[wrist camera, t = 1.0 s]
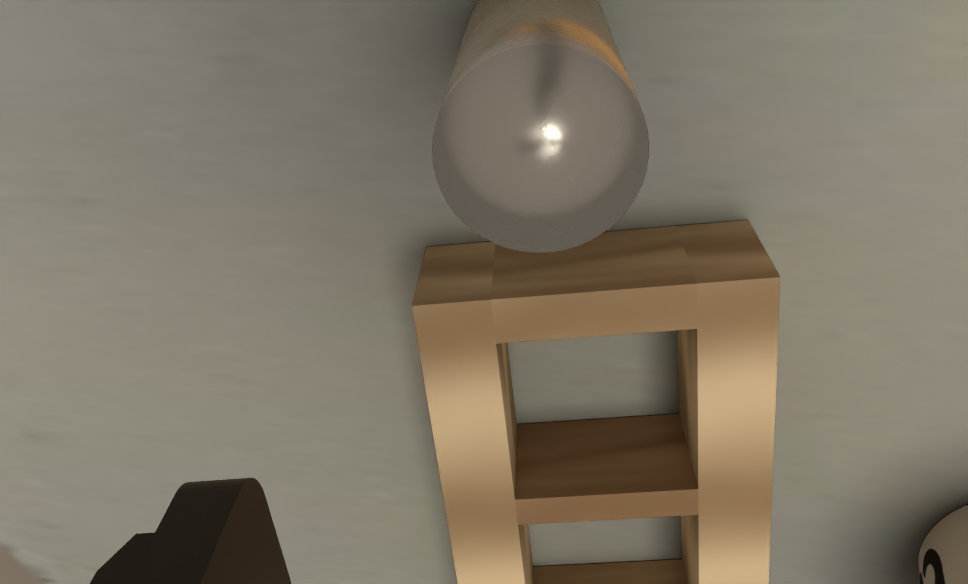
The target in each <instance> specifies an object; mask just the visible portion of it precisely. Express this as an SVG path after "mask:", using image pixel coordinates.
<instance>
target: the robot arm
mask: <svg viewBox="0 0 968 584" xmlns="http://www.w3.org/2000/svg"><path fill="white" fill-rule="evenodd" d="M90 584H291V581H290V577H289V574H288V570H287V567H286V564H285V560H284V557H283V554H282V550H281V547H280V544H279V540H278V537H277V534H276V530H275V527H274V524H273V521H272V517H271V514H270V511H269V507H268V504H267V501H266V497H265V494H264V491H263V489H262V487H261V485H260V483H259V482H258V481H257V480H256V479H254V478H242V479H228V480H214V481H200V482H188V483H185V484H183V485H182V486H181V487H180V488H179V489H178V490H177V492H176V494H175V496H174V497H173V499H172V501H171V503H170V505H169V507H168V509H167V511H166V513H165V515H164V517H163V519H162V521H161V522H160V524H159V526H158V528H157V530H156V532H155V533H143V534H136V535H134V536H133V537H132V538H131V539H130V540H129V541H128V542H127V543H126V544H125V545H124V546H123V547H122V548H121V549H120V550H119V551H118V552H117V553H116V554H114V555H113V556H112V557H111V558H110V559H109V560H108V561H107V562H106V563H105V564H104V565H103V566H102V567H101V568H100V569H99V570H98V571H97V572H96V574H95V576H94V577H93V579H92V581H91V583H90Z"/></svg>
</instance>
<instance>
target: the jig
mask: <svg viewBox="0 0 968 584" xmlns="http://www.w3.org/2000/svg"><path fill="white" fill-rule="evenodd" d="M779 302H780V275H779V274H778V272H777V270H776V268H775V266H774V265H773V263H772V261H771V259H770V258H769V256H768V254H767V252H766V250H765V249H764V247H763V245H762V243H761V242H760V240H759V238H758V236H757V234H756V233H755V231H754V229H753V227H752V226H751V224H750V222H749V220H742V221H730V222H718V223H706V224H694V225H682V226H670V227H658V228H646V229H635V230H623V231H611V232H604V233H602V234H601V235H599V236H598V237H596V238H594V239H592V240H590V241H588V242H586V243H584V244H581V245H579V246H576V247H573V248H569V249H566V250H562V251H555V252H545V253H533V252H522V251H517V250H513V249H508V248H506V247H503V246H500V245H497V244H495V243H493V242H480V243H468V244H456V245H444V246H432V247H426V251H425V255H424V259H423V263H422V267H421V271H420V275H419V279H418V283H417V287H416V291H415V295H414V299H413V303H412V310H413V316H414V322H415V328H416V334H417V340H418V346H419V352H420V358H421V364H422V370H423V376H424V383H425V389H426V395H427V401H428V407H429V413H430V419H431V425H432V431H433V437H434V443H435V449H436V455H437V461H438V467H439V473H440V479H441V485H442V491H443V497H444V503H445V509H446V515H447V521H448V527H449V534H450V540H451V546H452V552H453V558H454V564H455V570H456V576H457V582H458V584H768V581H769V556H770V530H771V505H772V480H773V454H774V429H775V403H776V378H777V353H778V327H779ZM674 330H678V382H679V414H668V415H653V416H638V417H623V418H607V419H592V420H577V421H562V422H546V423H531V424H516V415H515V407H514V398H513V389H512V381H511V372H510V363H509V354H508V346H507V343H512V342H525V341H539V340H552V339H566V338H580V337H593V336H607V335H620V334H634V333H647V332H661V331H674ZM667 516H681V552H682V559H678V560H659V561H639V562H620V563H600V564H581V565H561V566H542V567H533V564H532V555H531V546H530V537H529V529H528V524H541V523H559V522H577V521H595V520H613V519H631V518H649V517H667Z"/></svg>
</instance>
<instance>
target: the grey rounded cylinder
mask: <svg viewBox="0 0 968 584" xmlns="http://www.w3.org/2000/svg"><path fill="white" fill-rule="evenodd" d="M432 153H433V165H434V170H435V174H436V178H437V181H438V184H439V187H440V190H441V192H442V194H443V196H444V197H445V199H446V201H447V203H448V204H449V206H450V207H451V209H452V210H453V212H454V213H455V214H456V215H457V216H458V217H459V218H460V220H461V221H462V222H463V223H464V224H466V225H467V226H468V227H469V228H470V229H471V230H473V231H474V232H475V233H477V234H478V235H480V236H482V237H483V238H485V239H487V240H489V241H491V242H493V243H495V244H497V245H500V246H503V247H506V248H508V249H513V250H517V251H522V252H533V253H545V252H555V251H562V250H566V249H569V248H573V247H576V246H579V245H581V244H584V243H586V242H588V241H590V240H592V239H594V238H596V237H598V236H599V235H601V234H602V233H604V232H605V231H606V230H608V229H609V228H610V227H612V226H613V225H614V224H615V223H616V222H617V221H618V220H619V219H620V218H621V217H622V216H623V215H624V213H625V212H626V211H627V210H628V209H629V207H630V206H631V204H632V202H633V201H634V199H635V198H636V196H637V194H638V192H639V190H640V188H641V185H642V183H643V180H644V177H645V173H646V169H647V164H648V158H649V139H648V130H647V126H646V122H645V118H644V115H643V113H642V110H641V107H640V105H639V102H638V100H637V97H636V95H635V92H634V90H633V87H632V85H631V82H630V80H629V77H628V75H627V72H626V70H625V67H624V65H623V62H622V60H621V57H620V55H619V52H618V50H617V47H616V45H615V42H614V40H613V37H612V35H611V32H610V30H609V27H608V25H607V22H606V20H605V17H604V15H603V12H602V10H601V7H600V6H599V4H598V2H597V0H478V2H477V3H476V5H475V7H474V9H473V11H472V13H471V16H470V19H469V22H468V25H467V28H466V31H465V34H464V37H463V41H462V44H461V47H460V50H459V53H458V56H457V59H456V62H455V66H454V69H453V72H452V75H451V78H450V81H449V84H448V87H447V91H446V94H445V97H444V100H443V103H442V106H441V109H440V112H439V116H438V119H437V122H436V126H435V131H434V136H433V148H432Z"/></svg>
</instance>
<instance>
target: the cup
mask: <svg viewBox="0 0 968 584" xmlns="http://www.w3.org/2000/svg"><path fill="white" fill-rule="evenodd" d="M918 563H919V574H920V584H968V505H966V506H964V507H961V508H959V509H957V510H955V511H954V512H952V513H950V514H949V515H947V516H946V517H944V518H943V519H942V520H941V521H939V522H938V523H937V524H936V525H935V526H934V527H933V528H932V529H931V531H930V532H929V533H928V535H927V536H926V538H925V539H924V541H923V543H922V546H921V548H920V552H919V559H918Z"/></svg>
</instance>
